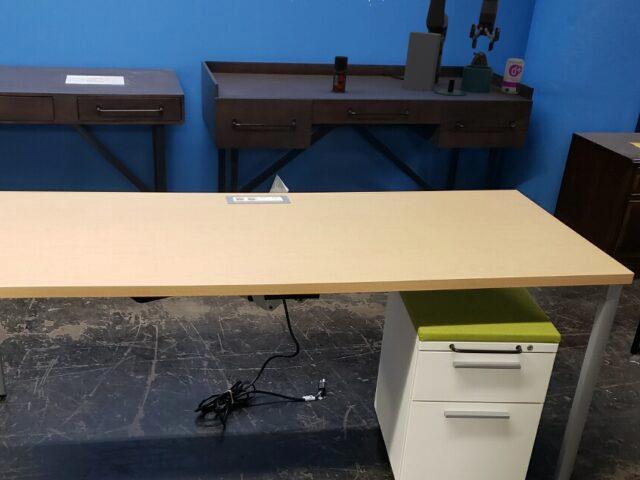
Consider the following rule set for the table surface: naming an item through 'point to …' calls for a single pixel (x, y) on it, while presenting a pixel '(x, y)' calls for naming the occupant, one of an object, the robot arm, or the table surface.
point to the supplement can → (512, 75)
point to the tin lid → (450, 90)
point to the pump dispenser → (479, 59)
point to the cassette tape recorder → (421, 60)
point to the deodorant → (340, 74)
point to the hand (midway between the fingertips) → (481, 49)
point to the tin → (477, 78)
